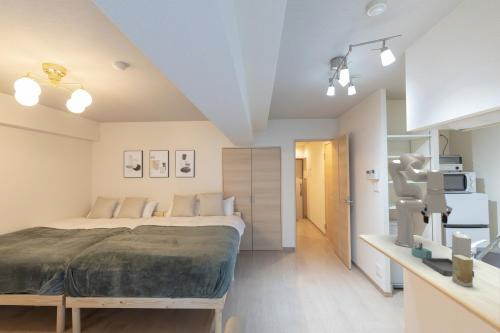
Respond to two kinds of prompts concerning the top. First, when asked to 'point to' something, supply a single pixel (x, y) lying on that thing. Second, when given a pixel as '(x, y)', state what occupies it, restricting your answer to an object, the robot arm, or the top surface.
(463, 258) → the skincare box
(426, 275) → the top surface
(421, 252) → the teal magnifying glass
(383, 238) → the top surface
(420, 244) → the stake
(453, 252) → the skincare box
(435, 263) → the tray
